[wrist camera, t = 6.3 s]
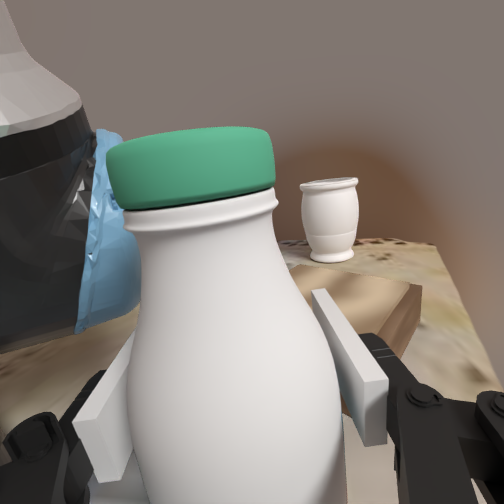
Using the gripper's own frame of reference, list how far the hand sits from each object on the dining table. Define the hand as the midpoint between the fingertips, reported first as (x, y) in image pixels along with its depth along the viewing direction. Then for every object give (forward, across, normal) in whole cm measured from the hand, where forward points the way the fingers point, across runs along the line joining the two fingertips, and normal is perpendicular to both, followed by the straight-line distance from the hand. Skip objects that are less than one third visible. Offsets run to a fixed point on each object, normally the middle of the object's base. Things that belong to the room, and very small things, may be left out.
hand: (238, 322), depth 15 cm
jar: (+38, +17, -11) cm, 43 cm away
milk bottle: (-5, 0, -11) cm, 12 cm away
